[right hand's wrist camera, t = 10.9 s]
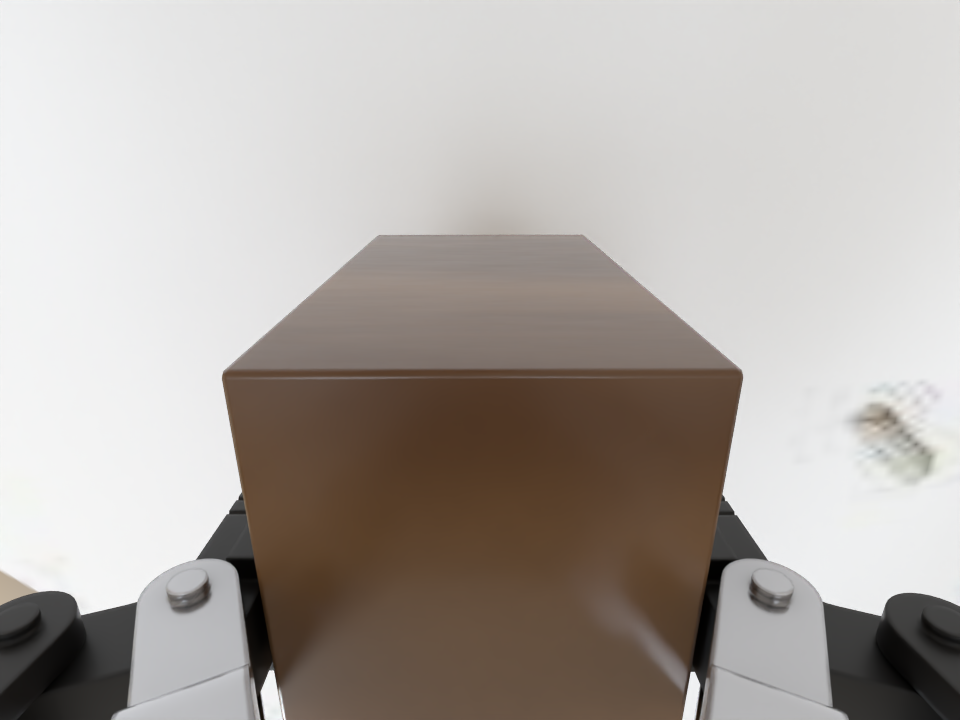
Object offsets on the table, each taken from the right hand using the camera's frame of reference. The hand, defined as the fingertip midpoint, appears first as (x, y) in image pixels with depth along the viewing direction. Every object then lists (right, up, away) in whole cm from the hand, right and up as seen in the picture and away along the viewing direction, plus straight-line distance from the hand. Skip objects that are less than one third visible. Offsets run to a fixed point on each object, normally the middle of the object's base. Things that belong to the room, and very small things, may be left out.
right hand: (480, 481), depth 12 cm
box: (0, -6, +9) cm, 11 cm away
